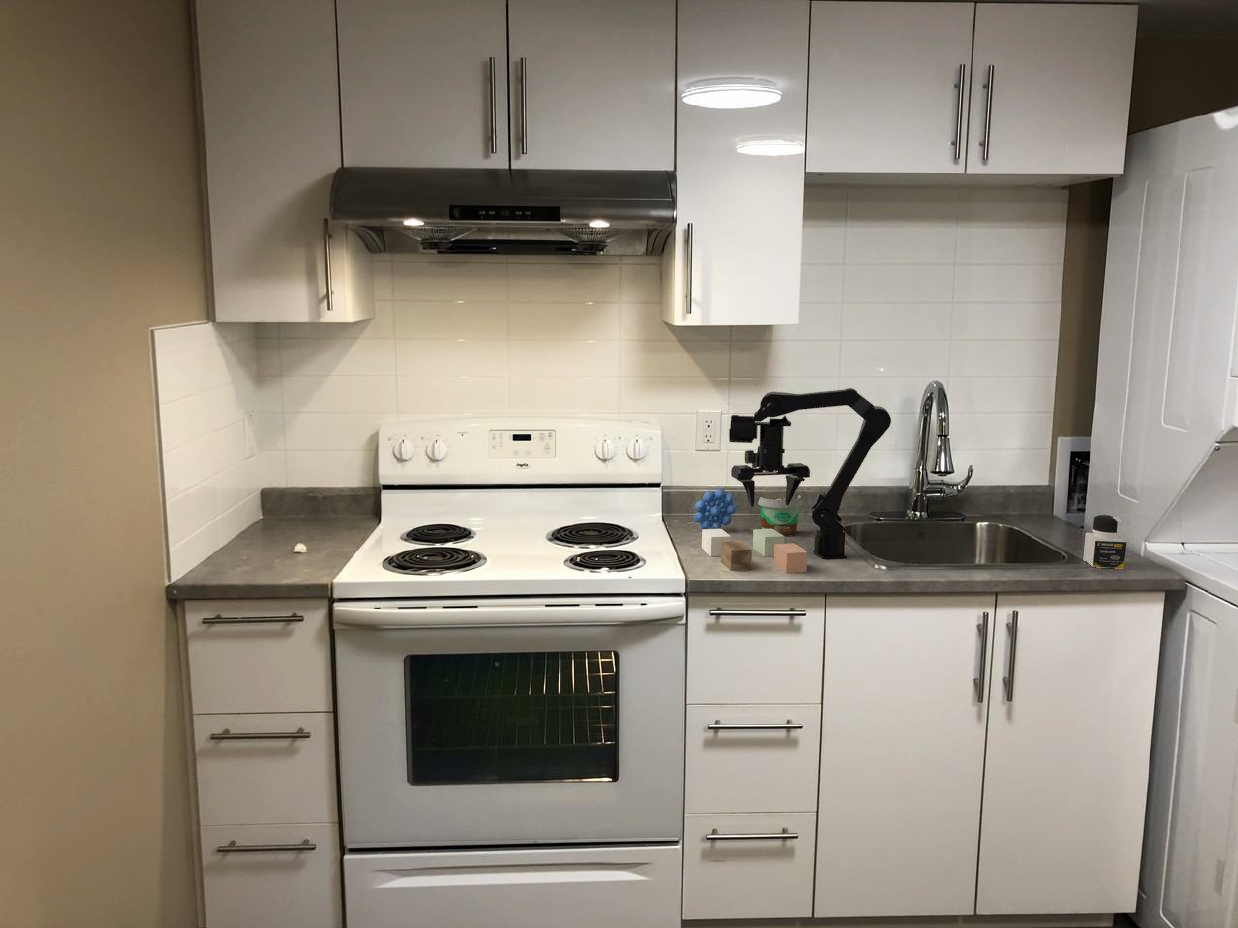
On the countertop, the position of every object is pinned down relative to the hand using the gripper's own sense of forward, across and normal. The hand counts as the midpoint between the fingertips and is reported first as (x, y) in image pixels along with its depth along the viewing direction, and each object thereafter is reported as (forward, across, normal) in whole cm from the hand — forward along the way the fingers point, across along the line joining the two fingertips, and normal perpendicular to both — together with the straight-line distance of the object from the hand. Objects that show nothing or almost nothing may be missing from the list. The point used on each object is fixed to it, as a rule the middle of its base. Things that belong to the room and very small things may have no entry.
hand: (769, 505), depth 244 cm
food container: (+12, -10, -16) cm, 23 cm away
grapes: (+12, +7, -23) cm, 27 cm away
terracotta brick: (+12, 0, +15) cm, 19 cm away
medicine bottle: (+13, -76, +26) cm, 81 cm away
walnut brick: (+12, +12, +11) cm, 20 cm away
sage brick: (+12, 0, 0) cm, 12 cm away
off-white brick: (+12, +13, -2) cm, 18 cm away
